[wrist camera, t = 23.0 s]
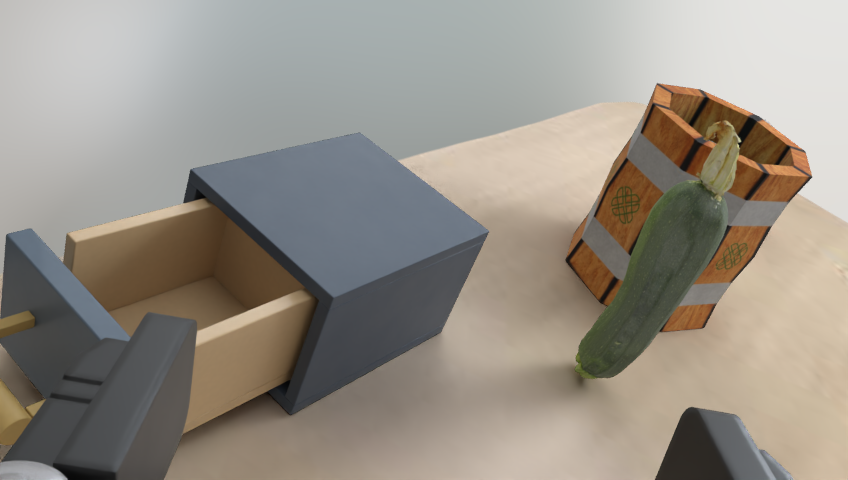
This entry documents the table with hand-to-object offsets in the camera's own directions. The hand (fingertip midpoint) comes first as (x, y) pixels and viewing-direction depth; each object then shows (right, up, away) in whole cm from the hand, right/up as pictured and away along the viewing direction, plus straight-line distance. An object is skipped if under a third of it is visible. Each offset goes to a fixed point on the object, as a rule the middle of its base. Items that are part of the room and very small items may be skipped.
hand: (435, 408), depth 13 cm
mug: (+20, 0, +58) cm, 61 cm away
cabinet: (-7, -2, +38) cm, 39 cm away
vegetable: (+11, -7, +42) cm, 44 cm away
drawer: (-15, -4, +28) cm, 32 cm away
